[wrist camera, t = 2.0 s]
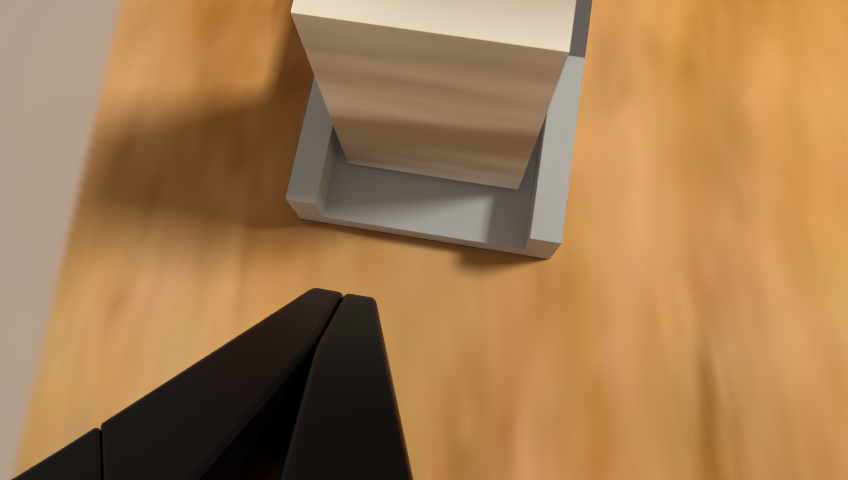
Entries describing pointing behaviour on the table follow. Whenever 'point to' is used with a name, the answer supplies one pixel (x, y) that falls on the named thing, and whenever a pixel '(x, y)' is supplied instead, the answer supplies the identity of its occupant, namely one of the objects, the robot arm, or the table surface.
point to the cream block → (438, 80)
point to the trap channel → (447, 180)
